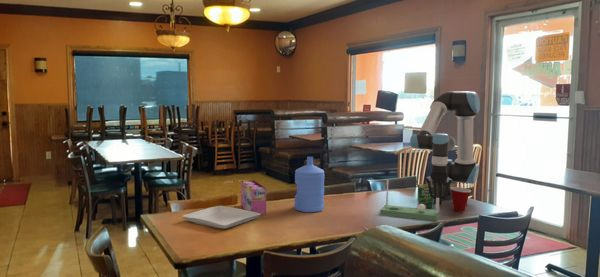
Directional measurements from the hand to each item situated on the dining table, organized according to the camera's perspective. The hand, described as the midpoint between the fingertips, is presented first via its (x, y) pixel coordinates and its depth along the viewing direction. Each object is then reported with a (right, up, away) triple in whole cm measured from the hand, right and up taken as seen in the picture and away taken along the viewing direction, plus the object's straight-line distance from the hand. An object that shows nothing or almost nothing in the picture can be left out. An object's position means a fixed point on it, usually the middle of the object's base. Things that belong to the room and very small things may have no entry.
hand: (437, 211), depth 237 cm
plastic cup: (+17, -3, +18) cm, 25 cm away
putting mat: (-12, -3, +6) cm, 14 cm away
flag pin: (-23, +1, +14) cm, 27 cm away
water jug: (-64, -1, +15) cm, 66 cm away
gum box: (-94, -1, +12) cm, 94 cm away
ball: (-7, +1, +3) cm, 8 cm away
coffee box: (0, -2, +22) cm, 22 cm away
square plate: (-106, -4, -11) cm, 107 cm away
